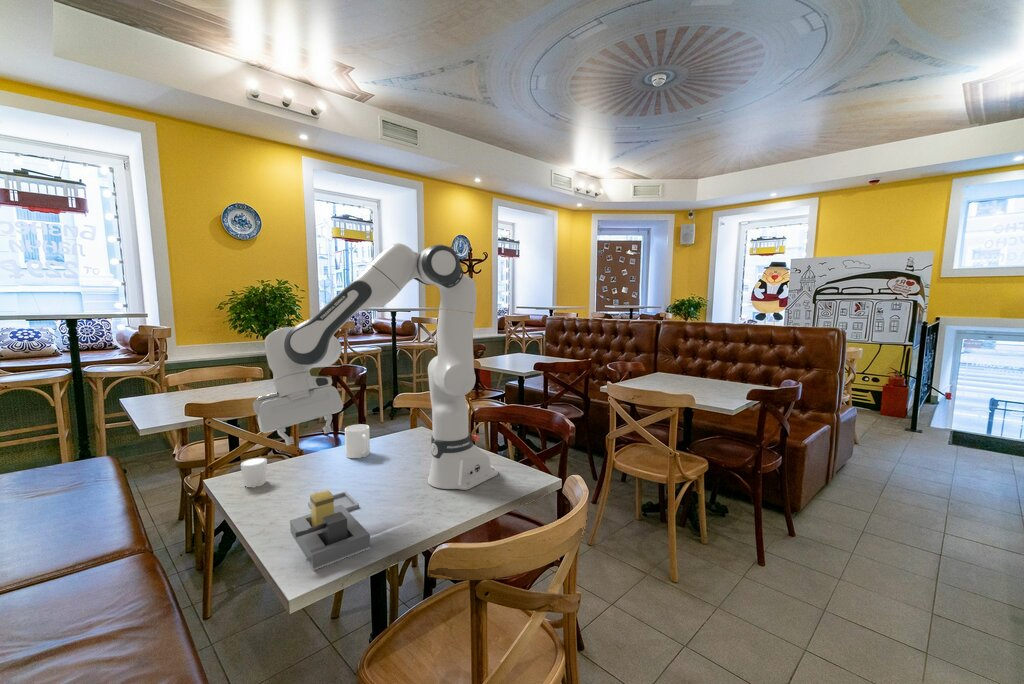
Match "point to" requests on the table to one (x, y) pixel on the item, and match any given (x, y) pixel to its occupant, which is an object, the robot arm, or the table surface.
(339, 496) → the tray
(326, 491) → the plug
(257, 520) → the table surface
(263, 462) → the white cylinder
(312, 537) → the grey socket block
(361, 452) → the cup
